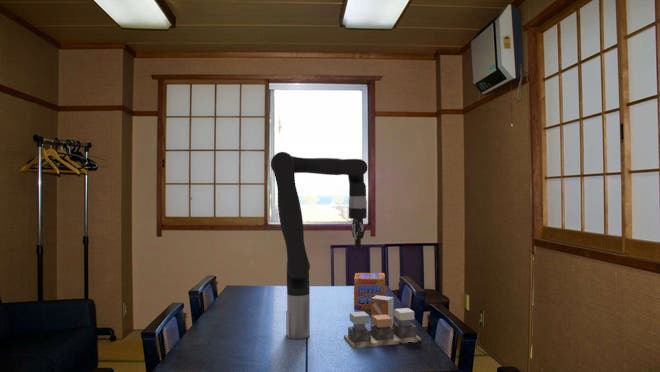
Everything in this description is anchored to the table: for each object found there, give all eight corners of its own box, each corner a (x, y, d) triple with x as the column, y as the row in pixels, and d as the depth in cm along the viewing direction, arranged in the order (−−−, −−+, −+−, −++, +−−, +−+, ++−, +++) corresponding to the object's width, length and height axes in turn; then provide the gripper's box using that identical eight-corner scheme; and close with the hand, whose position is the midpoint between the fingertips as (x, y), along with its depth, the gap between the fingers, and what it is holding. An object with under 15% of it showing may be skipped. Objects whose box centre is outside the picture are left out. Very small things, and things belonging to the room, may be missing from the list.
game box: (385, 310, 226) (385, 278, 226) (353, 310, 228) (353, 278, 228) (385, 302, 242) (384, 272, 242) (355, 302, 243) (355, 272, 243)
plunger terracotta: (377, 337, 180) (377, 319, 180) (372, 333, 185) (372, 315, 185) (392, 336, 181) (391, 318, 181) (386, 331, 187) (386, 314, 187)
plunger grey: (354, 334, 177) (354, 316, 177) (349, 330, 183) (349, 312, 183) (369, 333, 179) (369, 315, 179) (364, 328, 184) (364, 311, 184)
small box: (370, 328, 198) (370, 297, 198) (376, 324, 204) (376, 294, 204) (388, 331, 194) (388, 300, 194) (393, 327, 200) (393, 296, 200)
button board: (353, 348, 174) (353, 334, 174) (343, 338, 185) (343, 325, 185) (421, 341, 181) (421, 328, 181) (408, 332, 193) (408, 319, 193)
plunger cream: (400, 330, 182) (400, 312, 182) (394, 326, 188) (394, 309, 188) (414, 329, 184) (414, 311, 184) (407, 325, 189) (407, 307, 189)
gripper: (344, 206, 199) (344, 246, 199) (354, 207, 186) (354, 250, 186) (361, 206, 201) (361, 246, 201) (371, 207, 188) (371, 250, 188)
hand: (357, 248), depth 193 cm, fingers closed
